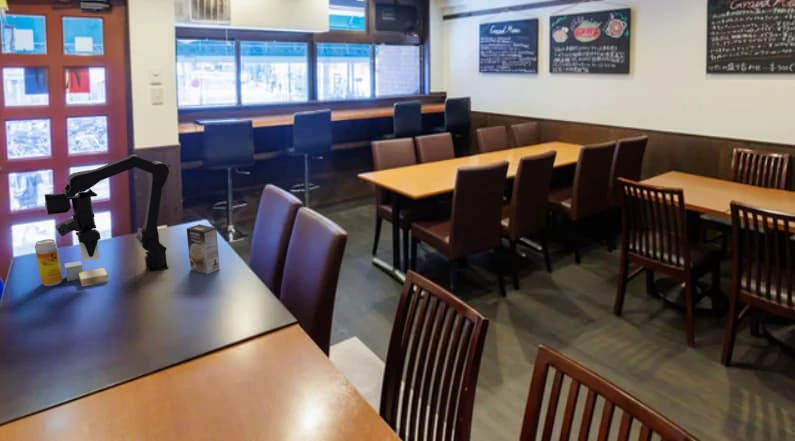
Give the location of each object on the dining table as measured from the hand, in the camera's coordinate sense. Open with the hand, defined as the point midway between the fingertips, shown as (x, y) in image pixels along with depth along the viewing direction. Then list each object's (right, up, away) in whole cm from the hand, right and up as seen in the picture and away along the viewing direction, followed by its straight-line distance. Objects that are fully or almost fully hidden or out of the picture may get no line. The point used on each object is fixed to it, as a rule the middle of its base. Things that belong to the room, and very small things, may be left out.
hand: (90, 254), depth 185 cm
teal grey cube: (-8, -8, +5) cm, 13 cm away
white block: (0, -1, 0) cm, 1 cm away
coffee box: (+35, -7, +13) cm, 38 cm away
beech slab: (0, -10, +3) cm, 10 cm away
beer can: (-13, -10, 0) cm, 16 cm away
